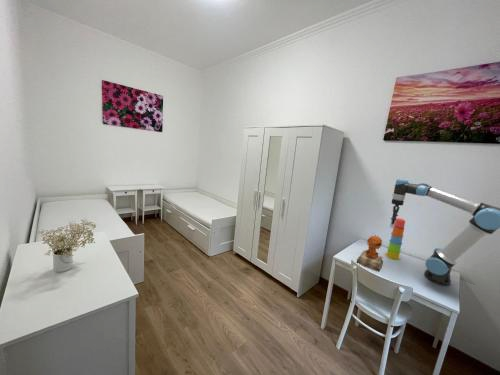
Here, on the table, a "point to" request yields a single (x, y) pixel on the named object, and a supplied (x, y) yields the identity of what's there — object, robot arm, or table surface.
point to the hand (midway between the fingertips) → (392, 225)
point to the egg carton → (370, 261)
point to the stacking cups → (396, 239)
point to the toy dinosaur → (373, 246)
